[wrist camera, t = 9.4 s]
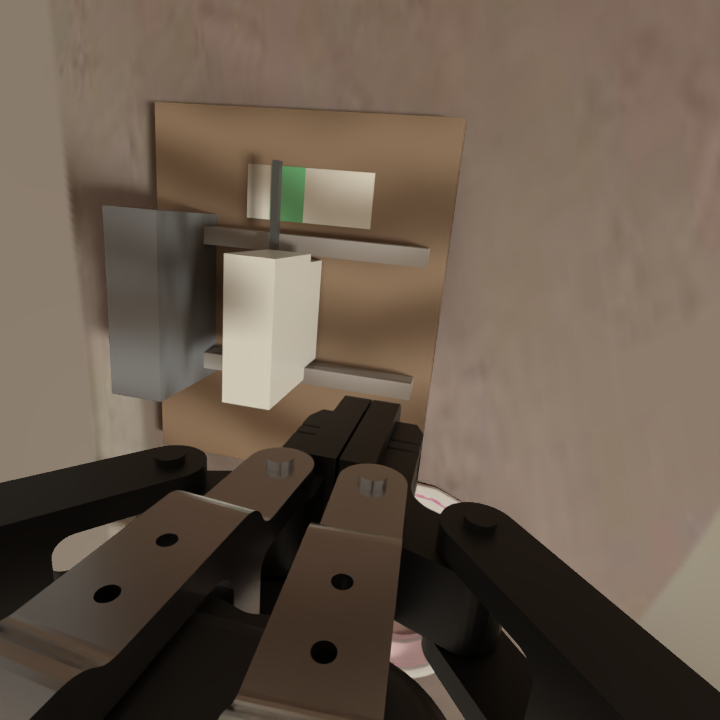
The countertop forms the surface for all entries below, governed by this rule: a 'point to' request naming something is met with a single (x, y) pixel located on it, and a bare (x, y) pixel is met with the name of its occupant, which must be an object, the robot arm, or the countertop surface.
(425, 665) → the teacup
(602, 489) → the countertop surface
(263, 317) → the gauge slider
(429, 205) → the gauge board
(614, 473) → the countertop surface
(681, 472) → the countertop surface
